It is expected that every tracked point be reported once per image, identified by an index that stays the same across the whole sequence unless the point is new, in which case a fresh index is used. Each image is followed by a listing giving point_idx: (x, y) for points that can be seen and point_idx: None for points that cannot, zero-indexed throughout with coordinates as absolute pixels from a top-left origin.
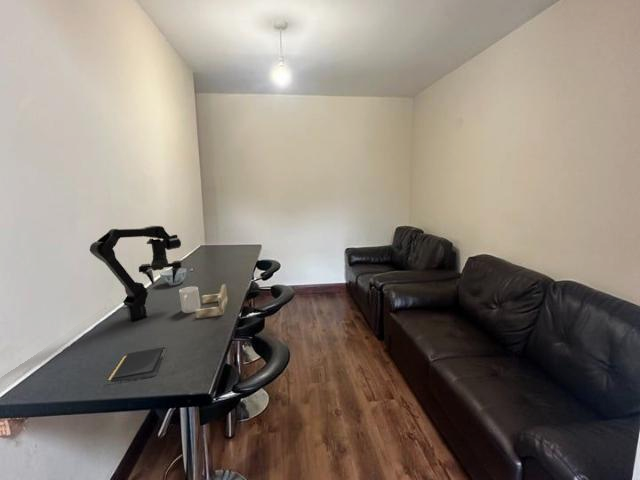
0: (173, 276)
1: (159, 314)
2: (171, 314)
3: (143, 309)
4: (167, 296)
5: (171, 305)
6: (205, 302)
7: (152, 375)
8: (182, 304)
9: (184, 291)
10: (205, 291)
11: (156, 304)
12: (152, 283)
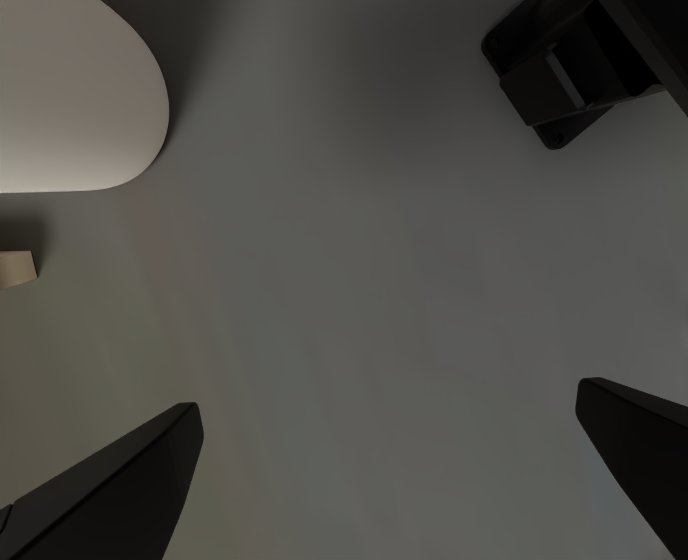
0: (66, 492)
1: (379, 85)
2: (256, 34)
3: (549, 30)
4: (423, 531)
5: (330, 302)
6: (5, 253)
7: None
8: None
9: (2, 147)
10: None
11: (470, 375)
12: (623, 386)
